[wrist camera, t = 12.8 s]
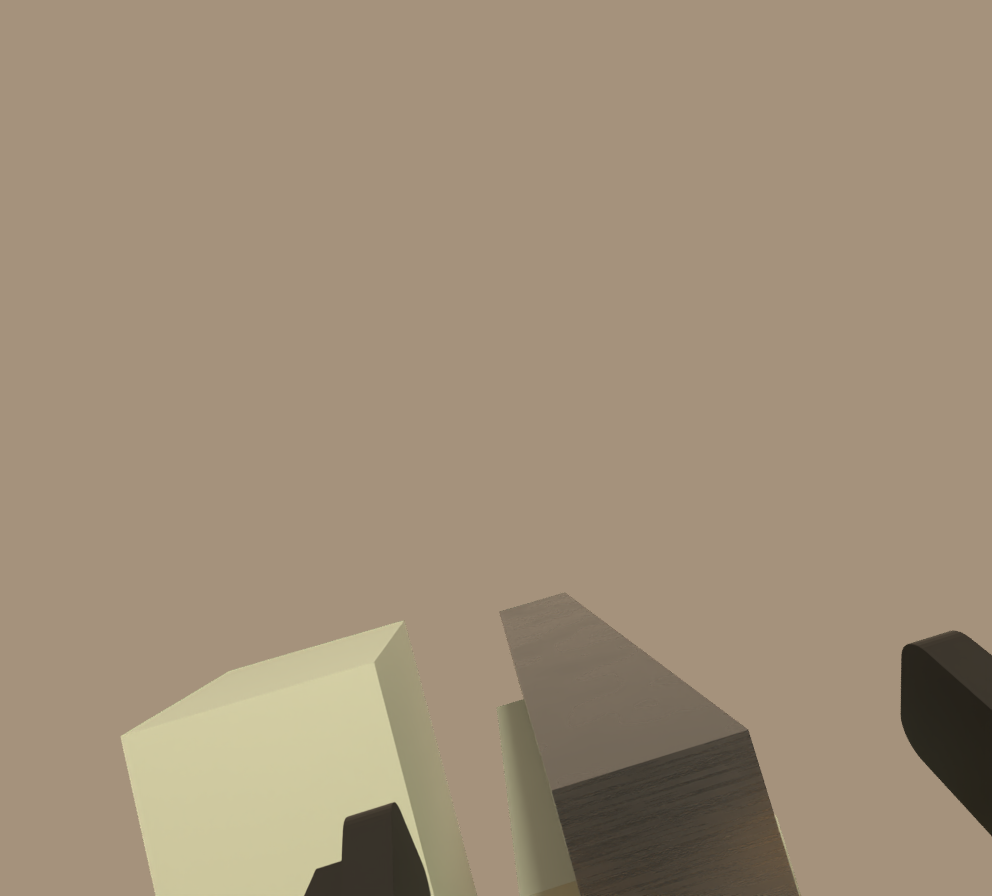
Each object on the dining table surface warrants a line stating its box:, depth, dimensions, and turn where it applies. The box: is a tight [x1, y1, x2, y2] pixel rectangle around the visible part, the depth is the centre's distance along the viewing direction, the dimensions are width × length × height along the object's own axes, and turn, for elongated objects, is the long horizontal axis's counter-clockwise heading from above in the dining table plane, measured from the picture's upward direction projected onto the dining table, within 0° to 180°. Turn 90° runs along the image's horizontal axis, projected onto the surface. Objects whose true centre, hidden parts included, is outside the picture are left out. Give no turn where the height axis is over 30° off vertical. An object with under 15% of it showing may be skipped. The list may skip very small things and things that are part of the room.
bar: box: [500, 593, 799, 896], centre depth 24 cm, size 4×24×4 cm, turn 2°
